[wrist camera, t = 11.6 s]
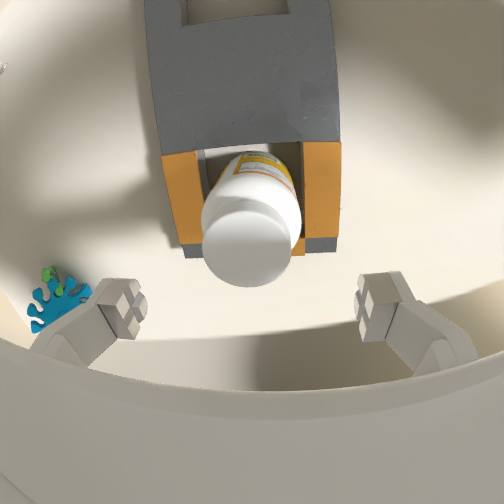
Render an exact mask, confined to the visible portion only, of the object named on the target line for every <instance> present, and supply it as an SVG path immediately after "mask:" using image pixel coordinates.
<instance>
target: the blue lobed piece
mask: <svg viewBox="0 0 504 504" xmlns="http://www.w3.org/2000/svg"><path fill="white" fill-rule="evenodd" d="M42 280H43V281H44V282H47V286H48V288H49V290H50V293H51V294H50V299H49V300H48V301H45V300H43V291H42V289H41V288H40V287H39V288H37V289H35V290H34V291H33V298H34V299H35V300H37V301H38V302H39V303H40V304H41V305H42V307H43V309H44V310H43V311H42V312H39V311H38V310H37V309H36V306H35V305H34V304H32V303H30V304H29V306H28V309H27V314H28V315H29V316H31V317H37V318H40V319H41V320H42V321H44V322H45V323H44V324H39V323H38V322H37V321H31V330H32V333H38V332H40V331H41V330H42V329H44V328H45V327H47V326H48V325H50V324H51V323H53V322H54V321H56V320H57V319H59V318H60V317H62V316H63V315H65V314H66V313H68V312H69V311H71V310H73V309H74V308H76V307H77V306H79V305H80V304H82V303H86V302H82V301H79V299H80V298H81V297H90V296H91V294H92V292H91V290H90V288H89V286H88V285H87V284H85V285H83V286H82V288H81V289H80V291H78V292H77V293H75V294H72V295H69V294H68V291H69V290H72V289H74V288H75V287H76V281H75V280H74V279H73V278H71V277H69V276H68V277H67V278H66V280H65V287H64V289H63V286H62V284H61V283H60V280H59V277H58V274H57V273H56V272H55V271H54V268H53V267H50V268H49V270H48V269H44V270H43V271H42Z"/></svg>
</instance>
